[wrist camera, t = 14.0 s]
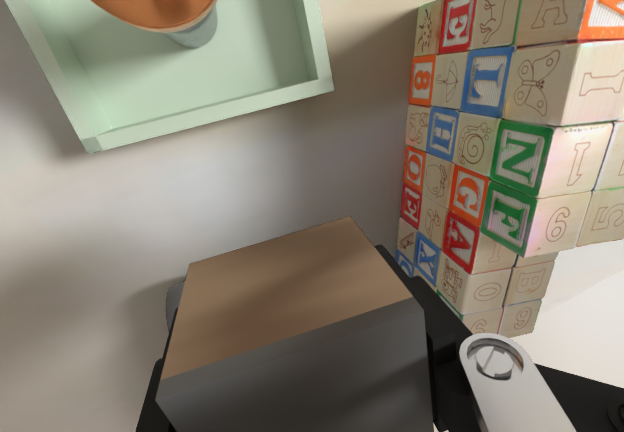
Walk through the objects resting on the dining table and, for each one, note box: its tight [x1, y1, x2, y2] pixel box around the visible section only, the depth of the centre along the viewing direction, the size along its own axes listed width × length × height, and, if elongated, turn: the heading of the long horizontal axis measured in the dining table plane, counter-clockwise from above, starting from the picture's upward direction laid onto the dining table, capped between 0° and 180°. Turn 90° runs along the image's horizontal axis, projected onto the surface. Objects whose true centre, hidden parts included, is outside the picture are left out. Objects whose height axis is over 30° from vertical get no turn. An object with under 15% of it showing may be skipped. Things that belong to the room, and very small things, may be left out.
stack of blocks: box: [396, 0, 624, 338], centre depth 21 cm, size 21×6×12 cm, turn 2°
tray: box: [5, 0, 334, 154], centre depth 17 cm, size 14×11×3 cm
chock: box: [155, 216, 434, 432], centre depth 9 cm, size 5×5×4 cm
